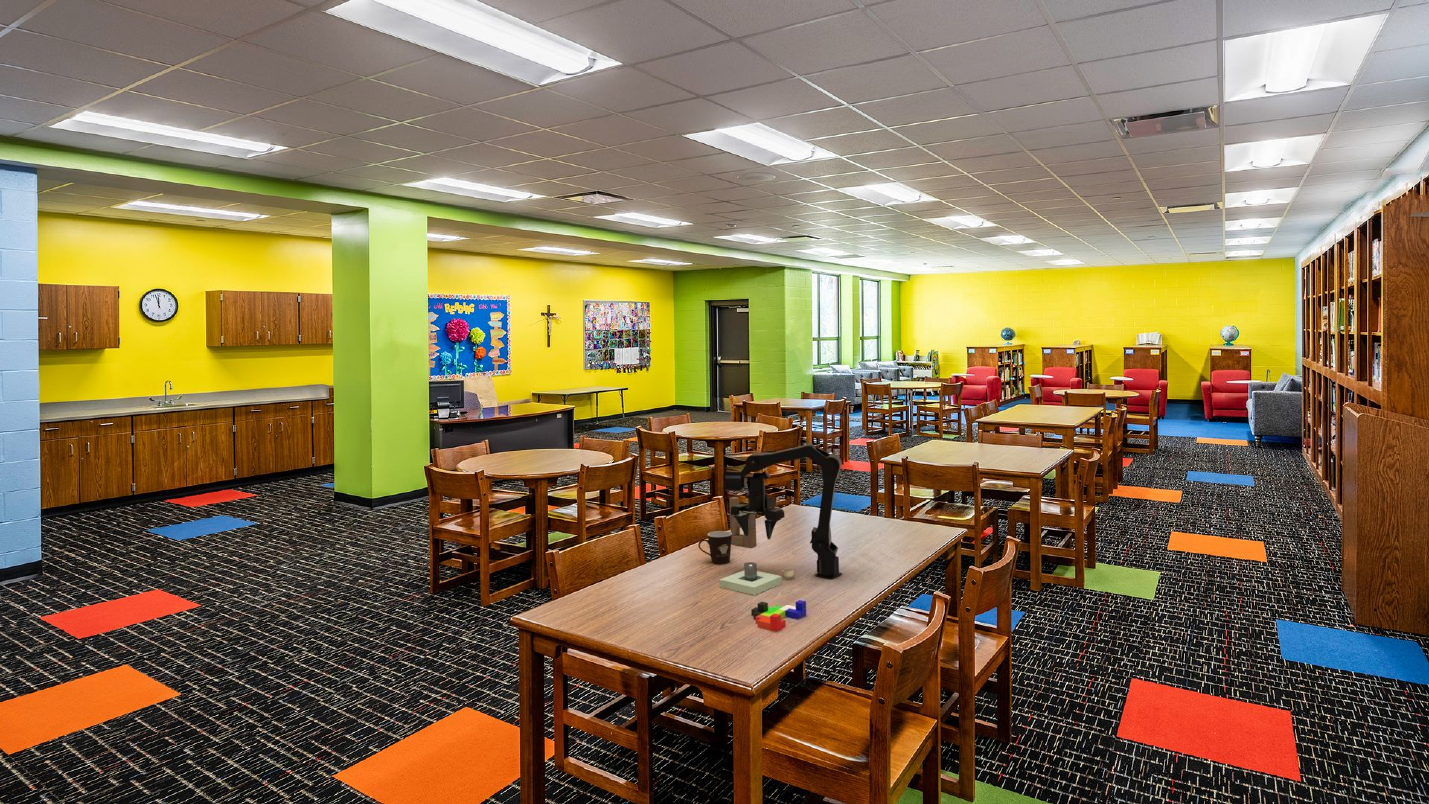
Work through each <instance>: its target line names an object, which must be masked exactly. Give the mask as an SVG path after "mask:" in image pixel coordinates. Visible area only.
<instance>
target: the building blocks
mask: <svg viewBox="0 0 1429 804" xmlns="http://www.w3.org/2000/svg"><path fill="white" fill-rule="evenodd" d="M751 616H753V620H754V621H755V624H757V625H756V626H757V628H759V629H765V630H769V631H773V632H778V631H779V632H780V630H782V629H784V628H786V626H787V625H786V622H787V621H786V619H783V618H791V619H794V620H800V619H802V618H804V617H806V616H807V601H805V600H803V599H802V600H801V599H798V600H797V601H795V605H789V604H786V605H784V606H781V605H780V606H779V605H775V606H773V607H771V606H769V603H768V602H765V601H760V602H758V603H757V607H756V606H755V607H753V608H751Z"/></svg>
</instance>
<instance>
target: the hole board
mask: <svg viewBox="0 0 1429 804" xmlns="http://www.w3.org/2000/svg"><path fill="white" fill-rule="evenodd" d="M782 584H783V579H782V575H777V574H772V573H768V572H764V571H759V570H757V580H756V581H753V582H750V581H746V580H745V576H744V570H742V571H739V572H736V573H734V574H731V575H728V576H726V577H723V578H720V579H719V588H721V589H725V588H726V589H725V590H729V591H733V592H737V591H739V592H738V593H742V592H743V593H742V594H746V593H747V594H746V595H750V594H752V595H751V596H754V595H755V596H756V594H757V595H759V594H762V593H764V592H766V590H767V591H769V590H771V589H773V588H776V587H778V586H781V585H782ZM777 585H778V586H777ZM775 586H776V587H775ZM770 588H771V589H770ZM768 589H769V590H768ZM763 591H764V592H763ZM761 592H762V593H761Z"/></svg>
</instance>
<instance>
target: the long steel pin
mask: <svg viewBox="0 0 1429 804" xmlns="http://www.w3.org/2000/svg"><path fill="white" fill-rule="evenodd" d="M743 567H744V569H743V571H744V576H745V580H746V581H750V582H753V581H756V580H757V571H758V565H757V563H756V562H753V561H751V562H745V563H743Z"/></svg>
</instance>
